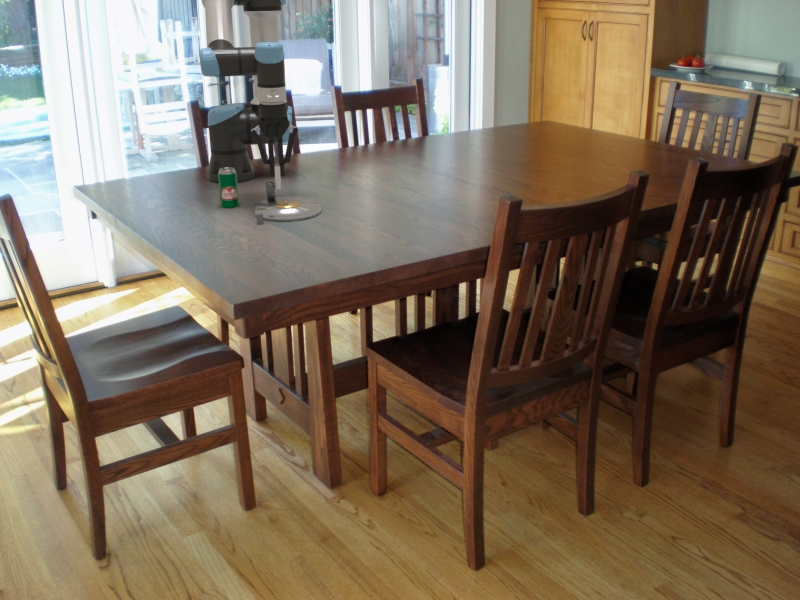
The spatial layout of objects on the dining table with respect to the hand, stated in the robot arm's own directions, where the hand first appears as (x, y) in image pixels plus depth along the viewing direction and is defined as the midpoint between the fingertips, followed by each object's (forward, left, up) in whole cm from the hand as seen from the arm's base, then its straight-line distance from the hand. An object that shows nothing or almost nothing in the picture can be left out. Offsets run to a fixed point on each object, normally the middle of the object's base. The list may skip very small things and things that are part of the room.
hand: (278, 187), depth 231 cm
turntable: (+7, +2, -5) cm, 9 cm away
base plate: (+7, +2, -7) cm, 10 cm away
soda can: (-4, -13, -7) cm, 16 cm away
